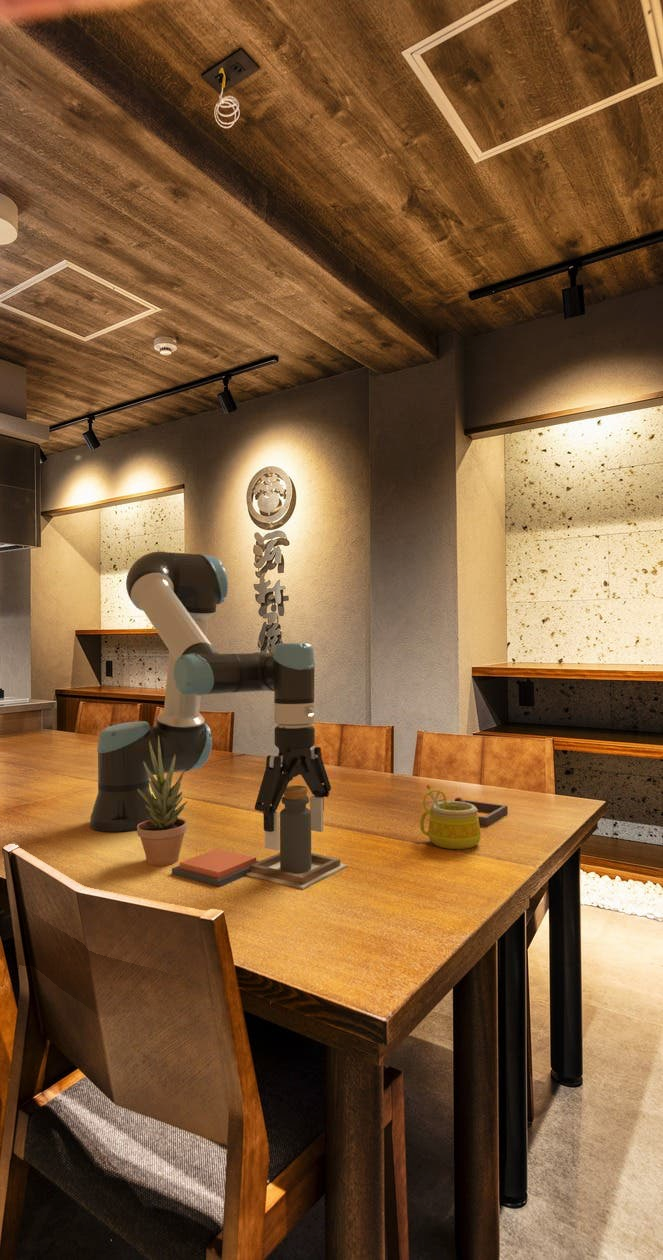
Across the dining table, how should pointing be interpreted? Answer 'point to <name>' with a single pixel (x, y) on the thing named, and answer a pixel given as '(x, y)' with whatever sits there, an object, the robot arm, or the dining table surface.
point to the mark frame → (318, 871)
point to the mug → (451, 823)
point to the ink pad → (215, 867)
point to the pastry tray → (496, 810)
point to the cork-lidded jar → (295, 831)
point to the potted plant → (162, 816)
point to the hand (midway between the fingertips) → (295, 839)
